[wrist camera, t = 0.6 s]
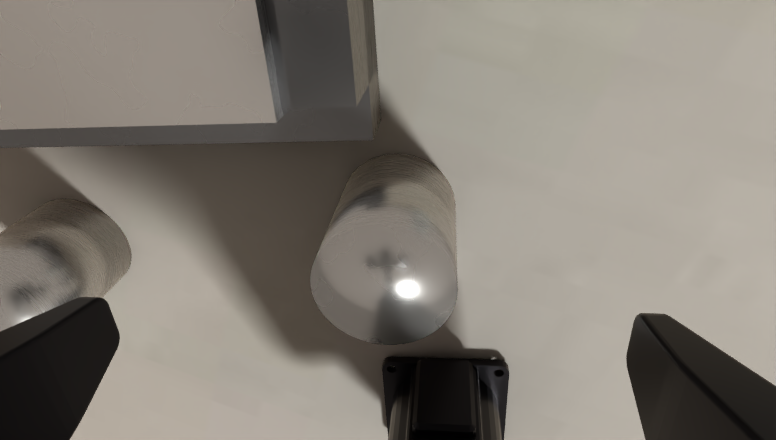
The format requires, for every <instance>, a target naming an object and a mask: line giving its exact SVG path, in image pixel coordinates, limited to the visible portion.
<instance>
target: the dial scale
mask: <svg viewBox="0 0 776 440" xmlns="http://www.w3.org/2000/svg"><path fill="white" fill-rule="evenodd" d="M380 121H381V112H380V98H379V83H378V68H377V54H376V39H375V25H374V10H373V0H0V147H1V148H17V147H66V146H115V145H164V144H214V143H263V142H312V141H361V140H373V139H374V137H375V134H376V131H377V129H378V126H379V124H380Z"/></svg>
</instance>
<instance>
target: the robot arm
mask: <svg viewBox="0 0 776 440" xmlns="http://www.w3.org/2000/svg"><path fill="white" fill-rule="evenodd" d="M119 339H120V336H119V331H118V328H117V326H116V323H115V320H114V318H113V315H112V312H111V310H110V307H109V305H108V303H107V301H106V300H105V299H103V298H100V297H78V298H76V299H73V300H71V301H69V302H66V303H64V304H62V305H60V306H57V307H55V308H53V309H50V310H48V311H46V312H44V313H41V314H39V315H37V316H34V317H32V318H30V319H28V320H25V321H23V322H21V323H18V324H16V325H14V326H12V327H9V328H7V329H5V330H2V331H0V440H70V438H71V437H72V435H73V433H74V432H75V430H76V428H77V427H78V425H79V423H80V421H81V419H82V417H83V415H84V414H85V412H86V410H87V408H88V406H89V404H90V402H91V400H92V398H93V396H94V394H95V392H96V390H97V388H98V386H99V384H100V382H101V380H102V378H103V376H104V374H105V372H106V370H107V368H108V366H109V364H110V362H111V360H112V358H113V356H114V354H115V352H116V350H117V348H118V345H119ZM626 359H627V368H628V373H629V377H630V380H631V384H632V388H633V392H634V396H635V400H636V404H637V408H638V412H639V416H640V420H641V424H642V428H643V431H644V435H645V439H646V440H776V386H775V385H773V384H772V383H770V382H769V381H767V380H766V379H764V378H763V377H761V376H760V375H758V374H757V373H755V372H753V371H752V370H750V369H749V368H747V367H746V366H744V365H743V364H741V363H740V362H738V361H737V360H735V359H734V358H732V357H731V356H729V355H728V354H726V353H725V352H723V351H722V350H720V349H719V348H717V347H716V346H714V345H713V344H711V343H709V342H708V341H706V340H705V339H703V338H702V337H700V336H699V335H697V334H696V333H694V332H693V331H691V330H690V329H688V328H687V327H685V326H684V325H682V324H681V323H679V322H678V321H676V320H675V319H673V318H672V317H670V316H668V315H666V314H654V313H640V314H639V315H637V316H636V318H635V320H634V323H633V328H632V332H631V337H630V341H629V346H628V350H627V358H626ZM390 366H394V367H390ZM496 370H501V371H496ZM382 371H383V382H384V394H385V405H386V416H387V427H388V440H504V430H505V418H506V405H507V393H508V380H509V370H508V365H507V363H506V362H504V361H501V360H478V359H448V358H417V357H388V358H385V360H384V362H383V368H382Z"/></svg>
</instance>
